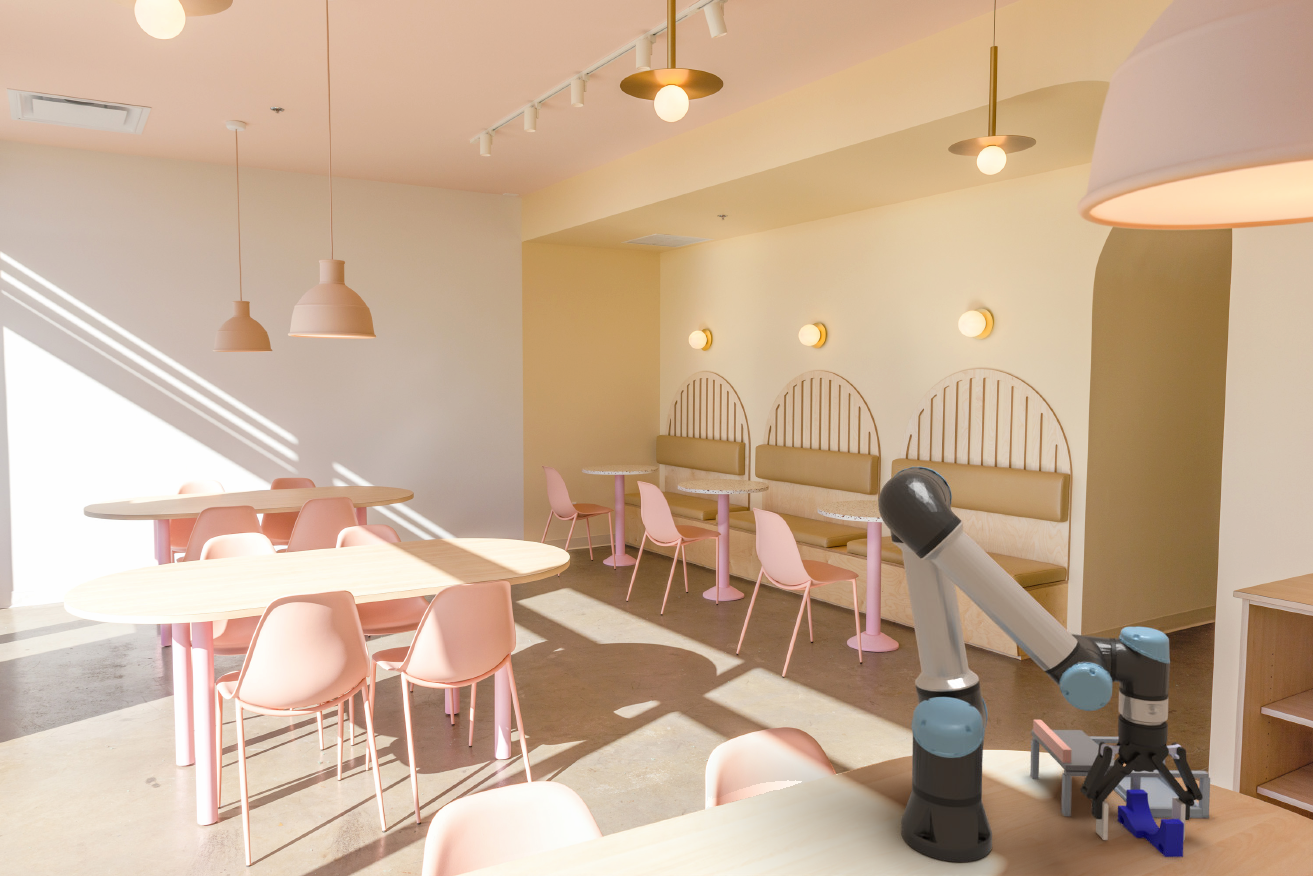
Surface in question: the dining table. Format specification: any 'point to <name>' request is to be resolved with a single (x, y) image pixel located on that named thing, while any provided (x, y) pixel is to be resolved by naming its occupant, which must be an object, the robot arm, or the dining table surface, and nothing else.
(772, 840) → the dining table surface
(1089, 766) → the lid
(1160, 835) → the blue bracket
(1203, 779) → the grey frame rack
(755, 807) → the dining table surface
